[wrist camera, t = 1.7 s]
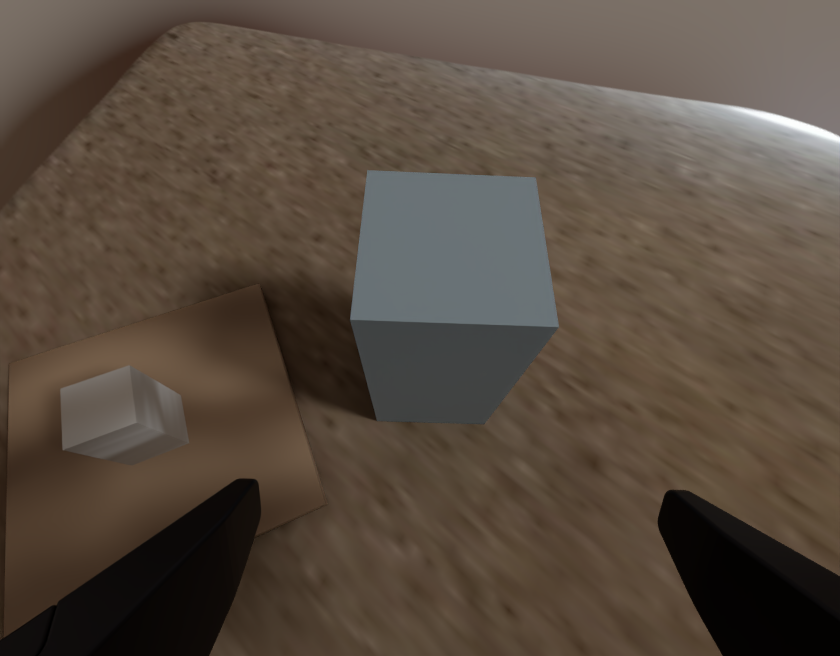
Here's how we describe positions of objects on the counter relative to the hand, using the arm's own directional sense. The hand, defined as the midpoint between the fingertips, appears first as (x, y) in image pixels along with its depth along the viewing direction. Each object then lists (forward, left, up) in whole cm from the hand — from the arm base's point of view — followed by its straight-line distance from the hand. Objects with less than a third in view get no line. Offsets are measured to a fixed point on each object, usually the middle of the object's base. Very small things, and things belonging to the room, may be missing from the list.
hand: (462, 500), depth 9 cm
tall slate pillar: (+6, +5, -13) cm, 15 cm away
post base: (-6, +14, -13) cm, 20 cm away
